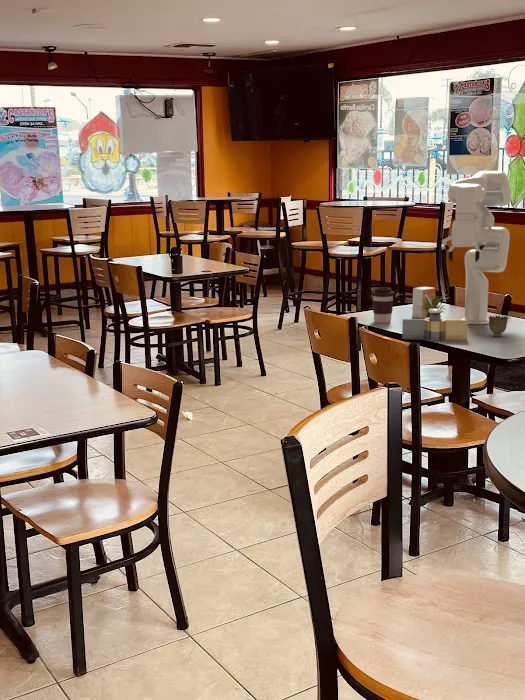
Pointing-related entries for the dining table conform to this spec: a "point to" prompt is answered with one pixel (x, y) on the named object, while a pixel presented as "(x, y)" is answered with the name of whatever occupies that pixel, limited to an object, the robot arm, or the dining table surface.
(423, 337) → the hinge
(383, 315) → the coffee cup
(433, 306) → the house plant
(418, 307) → the small box
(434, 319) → the hinge pin
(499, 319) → the cup
